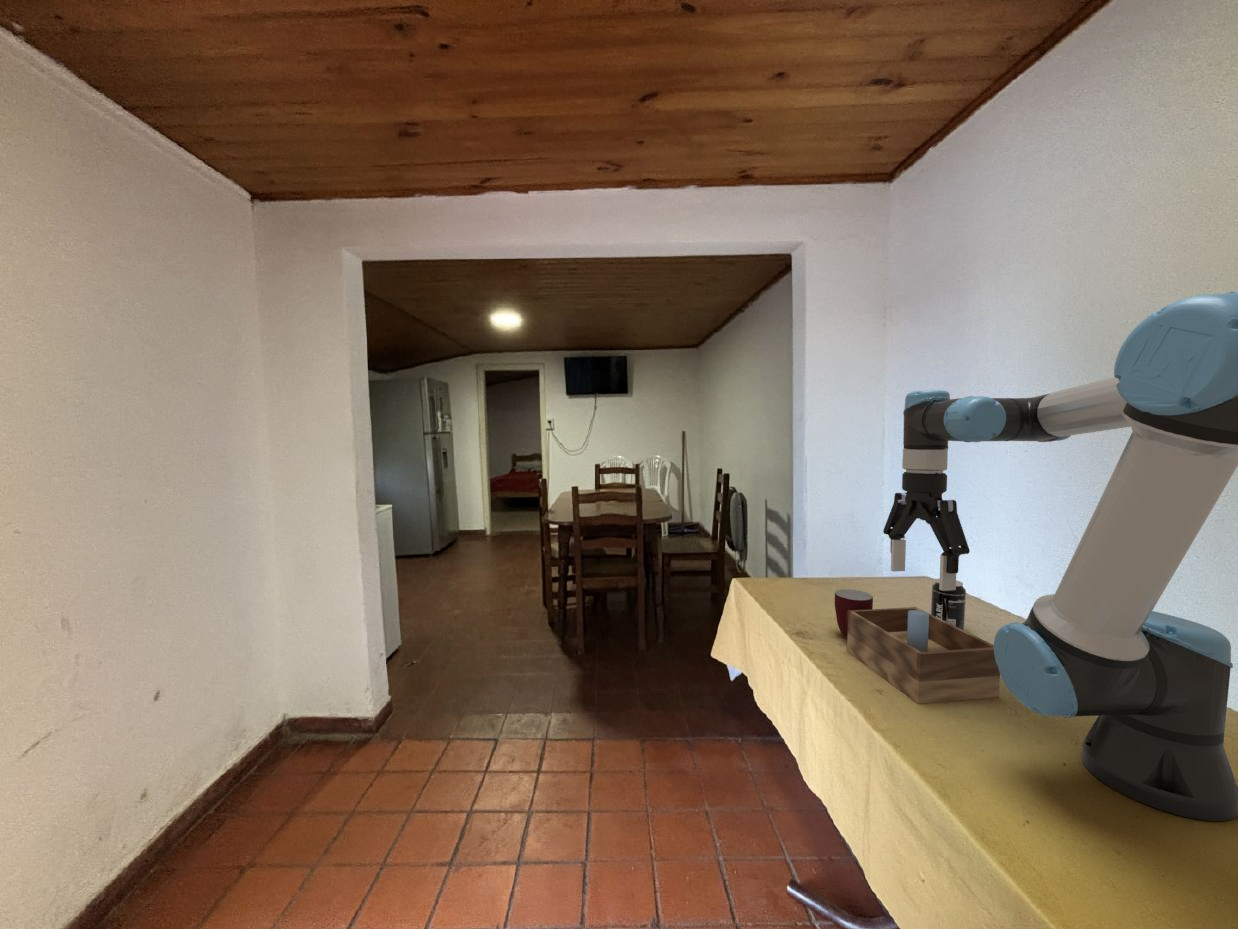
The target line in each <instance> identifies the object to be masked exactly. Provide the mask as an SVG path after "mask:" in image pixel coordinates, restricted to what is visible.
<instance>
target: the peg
mask: <svg viewBox="0 0 1238 929" xmlns="http://www.w3.org/2000/svg"><path fill="white" fill-rule="evenodd" d="M923 611H924V610H923ZM923 611H919V610H909V611H908V628H907V644H909V645H910V646H912V647H914V648H915V649H917V650H919V651H920V652H927V651H928V630H929V614H930V613H929V614H928V612H927V611H925V612H923ZM926 612H927V613H926Z"/></svg>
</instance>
